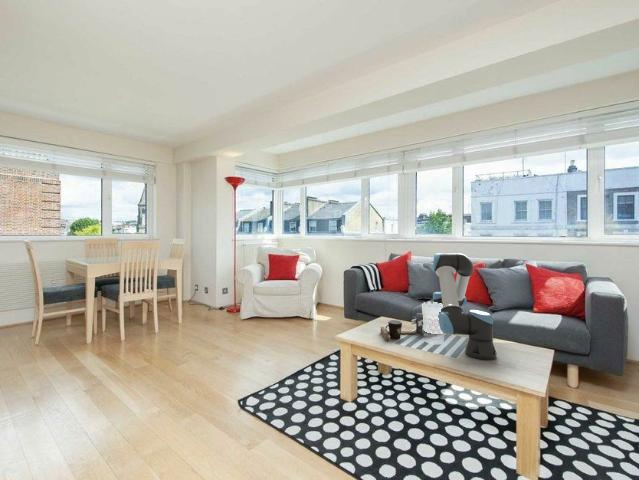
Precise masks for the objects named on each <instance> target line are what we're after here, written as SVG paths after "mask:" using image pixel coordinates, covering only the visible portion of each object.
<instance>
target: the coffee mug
mask: <svg viewBox="0 0 639 480" xmlns="http://www.w3.org/2000/svg"><path fill="white" fill-rule="evenodd" d="M387 323H388V324H387V325H386V326H385V330H386V331H387V332H388V331H389V332H388V333H389V339H392V340H400V339H401V335H402V334H401V331H402V327H403V321H402V320H398V319H391V320H387ZM387 328H388V330H387Z"/></svg>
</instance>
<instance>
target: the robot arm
mask: <svg viewBox="0 0 639 480" xmlns="http://www.w3.org/2000/svg"><path fill="white" fill-rule="evenodd" d="M432 271H433V272H434V273H435V274H436V276H437V277H438V279H439V287H440V291H435V292H433V293H432V302H433V301H434V302H438V303H442V304H443V308H442V309H441V312H439V315H438V318H439V320H438V324H439V329H440V330H441V332H442V333H444V334H447V335H457V336H458V335H461V336H462V335H463V336H468V340H467V343H466V345H465V348H464V353H465V355H467V356H468V357H470V358H472V359H477V360H484V361H492V360H495V359H496V358H497V350H496V348H495V344H494V317H493V316H492V314H490V313H489V312H486V311H481V310H477V309H476V310H475V309H470V310H468V312H464V310H463V308H464V307H466V306H467V303H468V300H467V297H466V296H465V295H466V293H467V289H468V288H467V287H468V284H469V281H470V278H471V276H472V275H473V273H474V265H473V262H472V260H471V259H470V258H469V257H468V256H467V255H465V254H463V253H456V252H455V253H451V252H450V253H447V252H446V253H442V252H440V253H438V252H437V253H435V254H434V256H433V262H432ZM455 275H456V277H455ZM462 307H463V308H462ZM411 325H416V316H414V317H413V318H412V320H411ZM421 325H424V324H423V320H421V321H419V322H418V326H421Z"/></svg>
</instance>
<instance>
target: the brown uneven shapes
mask: <svg viewBox="0 0 639 480" xmlns="http://www.w3.org/2000/svg"><path fill="white" fill-rule="evenodd" d="M415 315H416V316H415V317H416V324H415V331H414V330H413V331H412V330H410V331H409V330H407V331H406V330H405V331H404V330H403V331H402V330H401V335H411V336H413V335H416V334H423V335H424V332H423V331H424V329H423V328H424V327H423V325H424V324H423V325H421V326H418V322H419V321H421V320H423V316H424V313H422V312H417V313H415ZM387 331H388V332H389V330H387ZM387 331H386V327H384V326H380V335H381V336H382V338H383V339H384V341H385V342H389V341H390V334H389V333H388V332H387Z"/></svg>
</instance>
